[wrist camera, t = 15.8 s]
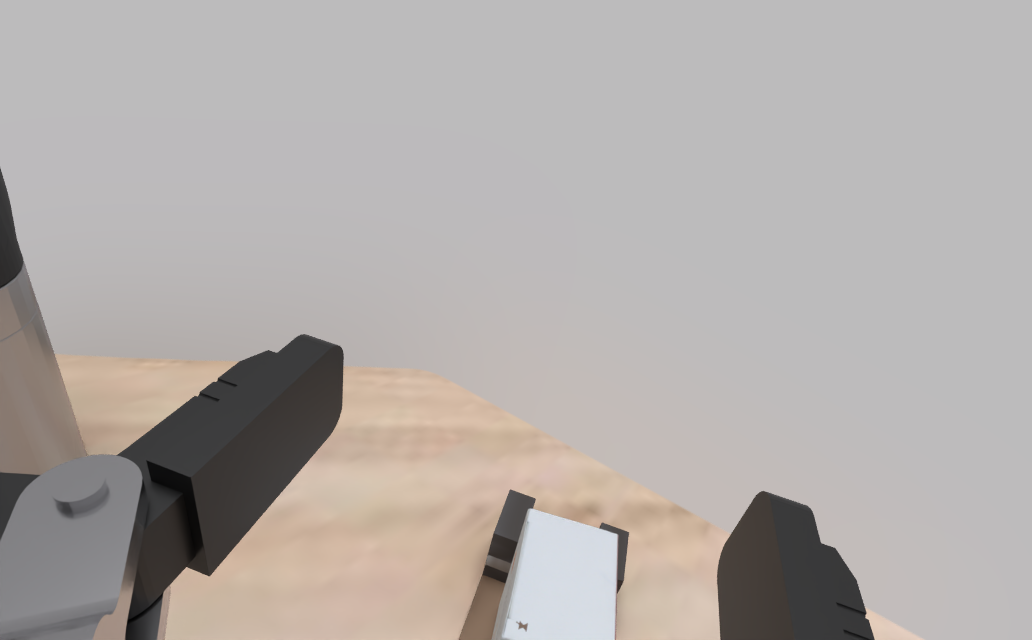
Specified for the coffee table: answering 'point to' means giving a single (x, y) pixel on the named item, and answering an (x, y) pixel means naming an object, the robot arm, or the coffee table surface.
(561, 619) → the small box
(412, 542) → the coffee table surface
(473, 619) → the stand
